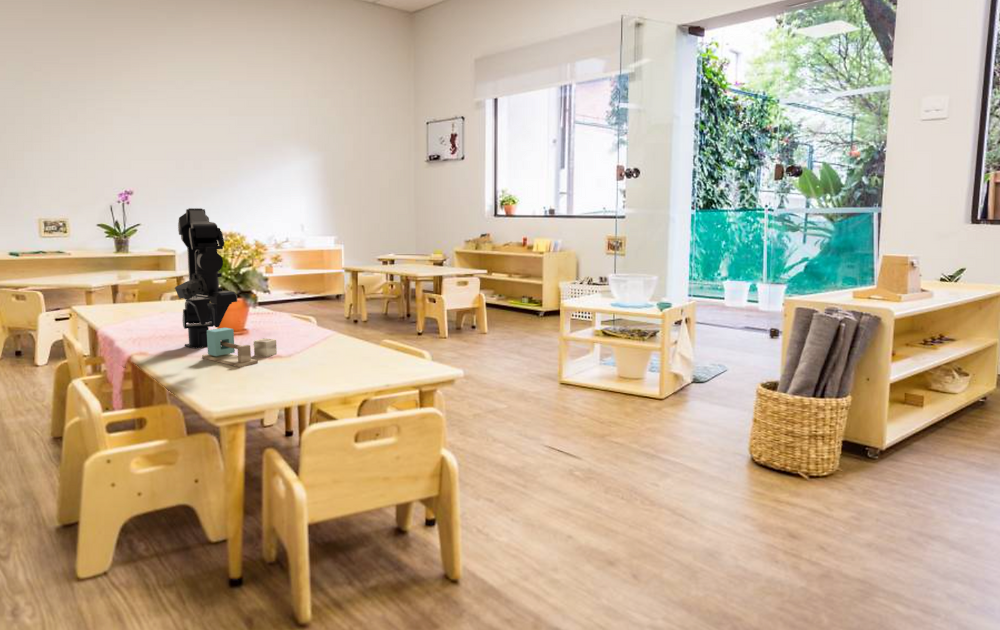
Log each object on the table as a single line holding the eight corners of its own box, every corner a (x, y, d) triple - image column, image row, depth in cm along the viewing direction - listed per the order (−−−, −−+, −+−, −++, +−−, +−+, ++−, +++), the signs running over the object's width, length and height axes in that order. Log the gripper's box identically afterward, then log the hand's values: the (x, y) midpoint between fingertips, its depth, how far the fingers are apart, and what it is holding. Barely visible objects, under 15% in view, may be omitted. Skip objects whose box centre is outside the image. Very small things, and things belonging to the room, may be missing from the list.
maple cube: (254, 355, 207) (253, 341, 206) (264, 352, 211) (263, 338, 210) (266, 357, 205) (266, 342, 205) (276, 354, 209) (276, 339, 209)
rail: (202, 357, 203) (201, 340, 202) (221, 354, 208) (220, 337, 207) (239, 366, 193) (238, 348, 192) (257, 363, 197) (257, 345, 197)
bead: (207, 354, 201) (206, 330, 200) (226, 350, 206) (225, 327, 205) (215, 356, 199) (214, 332, 198) (234, 352, 203) (233, 329, 202)
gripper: (160, 269, 190) (163, 325, 192) (198, 274, 179) (202, 334, 182) (198, 266, 199) (201, 320, 201) (237, 271, 188) (239, 328, 191)
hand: (209, 325), depth 193 cm, fingers open, 6 cm apart
